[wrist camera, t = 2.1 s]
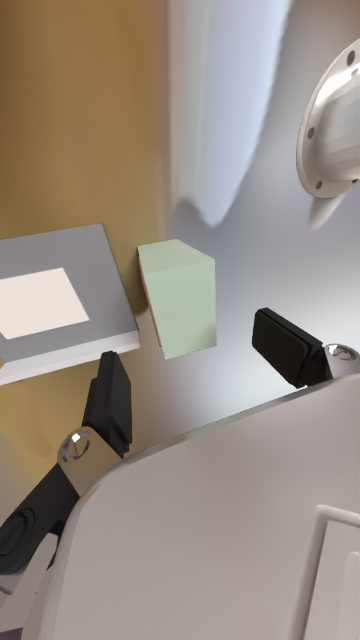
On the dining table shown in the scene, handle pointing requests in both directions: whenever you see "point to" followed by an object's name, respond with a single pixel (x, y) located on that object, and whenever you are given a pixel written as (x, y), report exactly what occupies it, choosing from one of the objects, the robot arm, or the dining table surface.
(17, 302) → the shelf board
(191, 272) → the box
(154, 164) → the dining table surface
